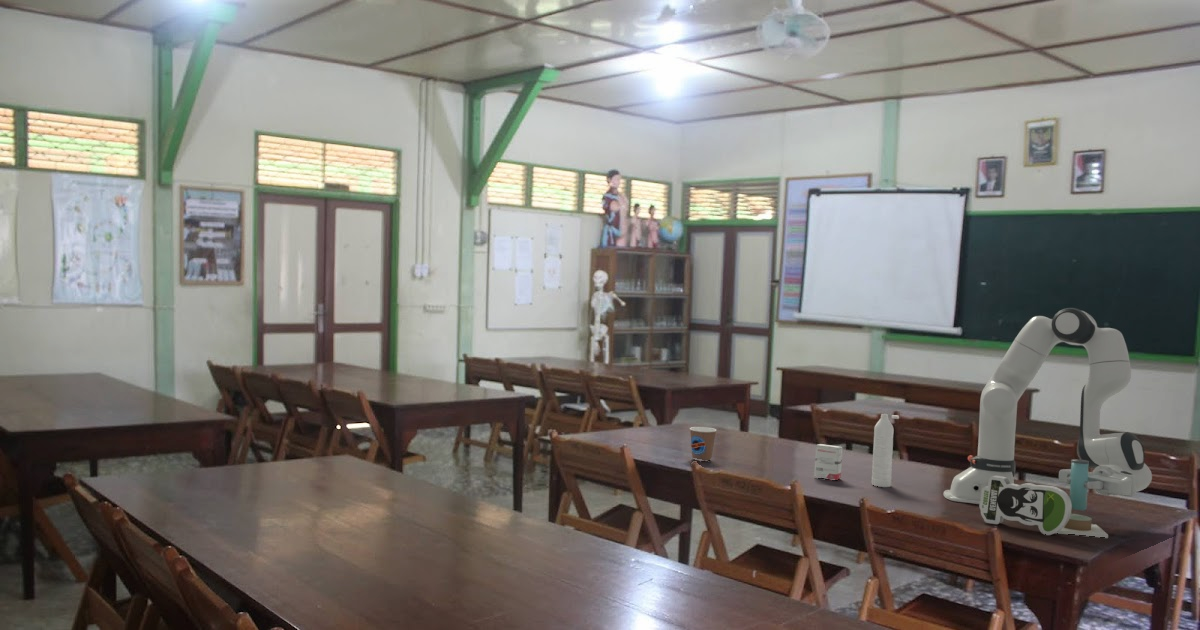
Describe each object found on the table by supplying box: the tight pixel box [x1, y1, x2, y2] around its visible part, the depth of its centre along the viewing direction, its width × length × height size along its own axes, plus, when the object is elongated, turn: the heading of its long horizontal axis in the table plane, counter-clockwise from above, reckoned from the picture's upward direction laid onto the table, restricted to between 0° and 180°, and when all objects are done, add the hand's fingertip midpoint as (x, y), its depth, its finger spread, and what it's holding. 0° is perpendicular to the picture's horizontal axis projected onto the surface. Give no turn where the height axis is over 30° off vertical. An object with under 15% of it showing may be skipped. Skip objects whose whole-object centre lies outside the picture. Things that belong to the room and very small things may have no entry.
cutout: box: [978, 476, 1073, 536], centre depth 273 cm, size 15×3×25 cm
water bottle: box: [871, 413, 900, 488], centre depth 326 cm, size 9×6×25 cm
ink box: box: [813, 443, 843, 481], centre depth 336 cm, size 9×5×12 cm, turn 58°
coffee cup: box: [689, 426, 717, 460], centre depth 362 cm, size 10×10×12 cm
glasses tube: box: [1069, 458, 1090, 511], centre depth 274 cm, size 5×5×14 cm
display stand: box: [1055, 513, 1109, 539], centre depth 274 cm, size 14×12×4 cm
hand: (1076, 483), depth 273 cm, fingers closed on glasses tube, 4 cm apart
